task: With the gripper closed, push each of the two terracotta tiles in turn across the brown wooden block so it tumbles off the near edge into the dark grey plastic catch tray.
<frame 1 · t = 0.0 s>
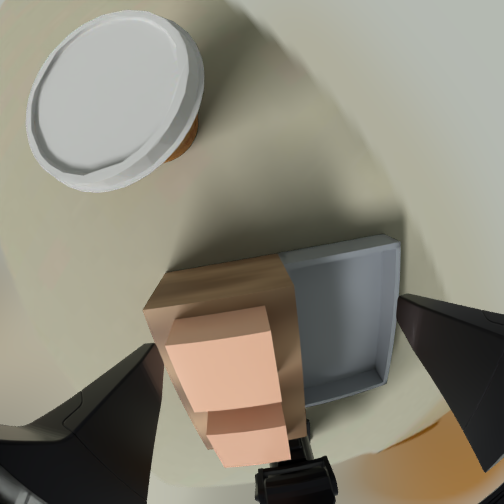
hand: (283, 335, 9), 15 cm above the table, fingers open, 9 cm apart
brown wooden block: (238, 343, 26), on the table
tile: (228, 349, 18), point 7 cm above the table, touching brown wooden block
catch tray: (338, 323, 26), on the table
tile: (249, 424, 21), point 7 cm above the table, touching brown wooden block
disposable coffee cup: (161, 127, 20), on the table
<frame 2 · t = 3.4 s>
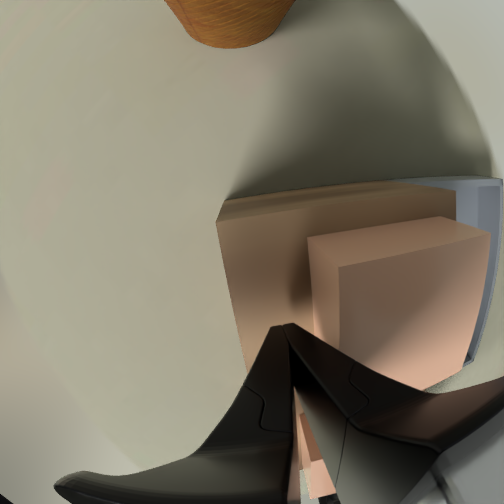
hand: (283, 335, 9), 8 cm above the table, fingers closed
brown wooden block: (320, 314, 18), on the table
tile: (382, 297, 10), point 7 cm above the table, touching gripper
catch tray: (435, 283, 18), on the table
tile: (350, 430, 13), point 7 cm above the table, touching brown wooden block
disposable coffee cup: (231, 14, 12), on the table
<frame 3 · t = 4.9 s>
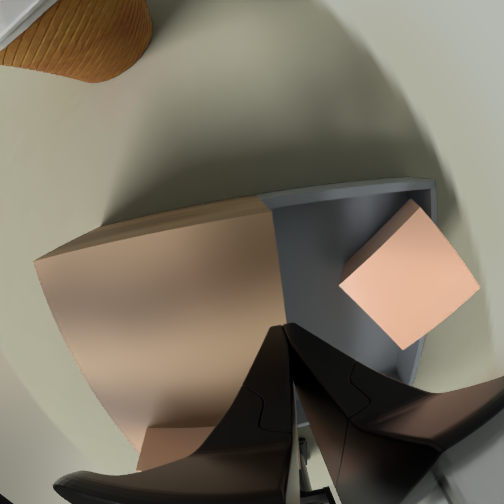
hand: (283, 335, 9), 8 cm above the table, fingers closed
brown wooden block: (202, 333, 18), on the table
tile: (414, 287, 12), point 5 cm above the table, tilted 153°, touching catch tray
catch tray: (347, 307, 18), on the table
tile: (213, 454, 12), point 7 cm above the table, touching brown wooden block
disposable coffee cup: (110, 44, 12), on the table
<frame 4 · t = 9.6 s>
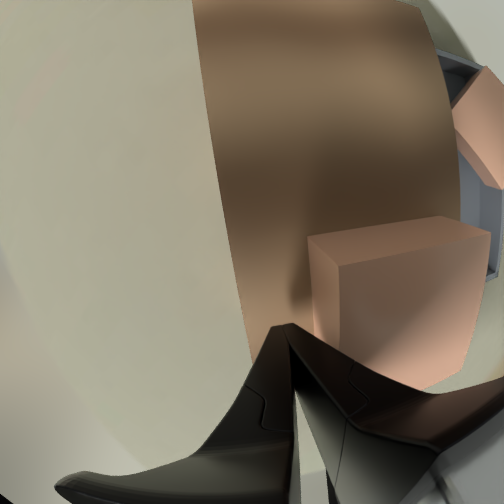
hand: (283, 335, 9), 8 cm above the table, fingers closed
brown wooden block: (312, 178, 15), on the table
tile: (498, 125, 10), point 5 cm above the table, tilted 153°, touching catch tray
catch tray: (440, 169, 15), on the table
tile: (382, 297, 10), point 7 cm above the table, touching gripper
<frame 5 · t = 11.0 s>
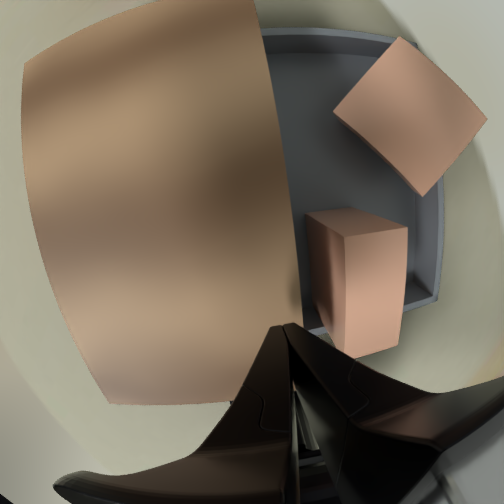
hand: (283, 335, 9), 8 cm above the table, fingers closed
brown wooden block: (179, 199, 15), on the table
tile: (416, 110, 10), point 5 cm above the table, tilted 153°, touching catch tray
catch tray: (349, 175, 15), on the table
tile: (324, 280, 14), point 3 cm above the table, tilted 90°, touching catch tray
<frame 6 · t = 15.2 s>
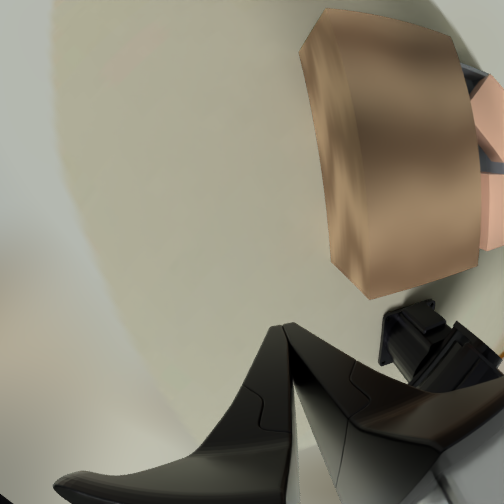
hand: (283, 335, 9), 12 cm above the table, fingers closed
brown wooden block: (376, 149, 19), on the table
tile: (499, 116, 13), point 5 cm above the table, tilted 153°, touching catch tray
catch tray: (458, 149, 19), on the table
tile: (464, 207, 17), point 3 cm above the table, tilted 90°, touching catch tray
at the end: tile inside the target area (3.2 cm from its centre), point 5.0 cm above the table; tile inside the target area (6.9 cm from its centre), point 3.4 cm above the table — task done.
